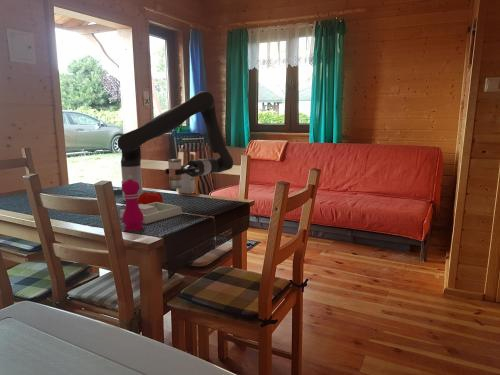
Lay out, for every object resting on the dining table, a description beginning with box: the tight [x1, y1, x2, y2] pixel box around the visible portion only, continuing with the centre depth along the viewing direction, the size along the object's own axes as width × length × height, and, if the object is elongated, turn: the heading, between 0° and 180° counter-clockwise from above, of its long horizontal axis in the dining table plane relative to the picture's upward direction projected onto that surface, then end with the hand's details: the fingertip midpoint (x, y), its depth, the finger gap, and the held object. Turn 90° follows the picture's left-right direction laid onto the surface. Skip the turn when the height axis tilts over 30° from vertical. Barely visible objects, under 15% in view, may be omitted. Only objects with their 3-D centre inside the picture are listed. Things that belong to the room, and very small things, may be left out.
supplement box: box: [177, 174, 196, 194], centre depth 203 cm, size 7×7×13 cm
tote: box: [119, 202, 183, 225], centre depth 150 cm, size 16×18×4 cm
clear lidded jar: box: [167, 158, 183, 190], centre depth 158 cm, size 6×6×12 cm
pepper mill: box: [121, 176, 144, 232], centre depth 131 cm, size 7×7×20 cm
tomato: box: [138, 191, 164, 205], centre depth 170 cm, size 10×11×6 cm
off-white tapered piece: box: [138, 204, 157, 215], centre depth 146 cm, size 10×6×5 cm, turn 53°
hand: (170, 172), depth 156 cm, fingers closed on clear lidded jar, 5 cm apart
